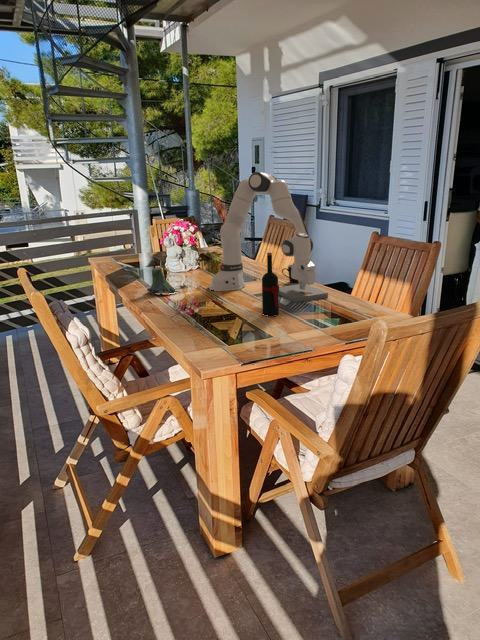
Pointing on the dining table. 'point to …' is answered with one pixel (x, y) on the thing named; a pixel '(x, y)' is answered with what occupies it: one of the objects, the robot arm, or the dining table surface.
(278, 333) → the dining table surface
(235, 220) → the robot arm
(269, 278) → the wine bottle
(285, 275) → the coffee mug
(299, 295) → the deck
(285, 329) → the dining table surface
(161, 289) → the tree stump
